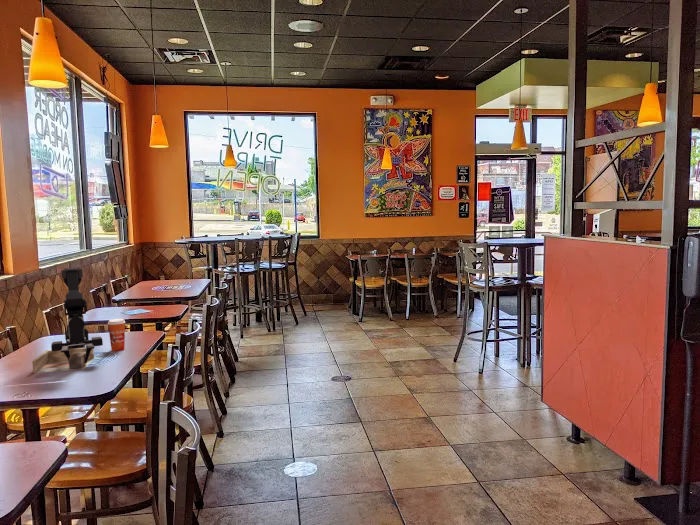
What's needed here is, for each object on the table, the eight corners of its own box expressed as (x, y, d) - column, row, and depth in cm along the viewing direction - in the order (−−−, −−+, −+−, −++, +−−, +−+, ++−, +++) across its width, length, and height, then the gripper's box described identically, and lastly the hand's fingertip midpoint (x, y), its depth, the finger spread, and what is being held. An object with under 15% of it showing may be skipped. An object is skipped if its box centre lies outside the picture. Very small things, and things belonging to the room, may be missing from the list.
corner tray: (94, 359, 232) (93, 347, 232) (84, 370, 216) (83, 357, 215) (47, 362, 228) (46, 350, 228) (33, 374, 212) (32, 360, 211)
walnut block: (87, 362, 226) (87, 351, 226) (81, 368, 217) (81, 357, 216) (76, 363, 225) (75, 352, 225) (69, 369, 216) (68, 358, 215)
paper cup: (109, 352, 244) (107, 322, 243) (108, 348, 251) (106, 319, 249) (128, 350, 247) (126, 320, 246) (126, 346, 254) (124, 317, 253)
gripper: (99, 321, 231) (102, 356, 232) (50, 326, 222) (53, 362, 224) (101, 325, 221) (103, 362, 223) (50, 331, 212) (52, 369, 214)
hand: (78, 364), depth 221 cm, fingers closed on walnut block, 5 cm apart
